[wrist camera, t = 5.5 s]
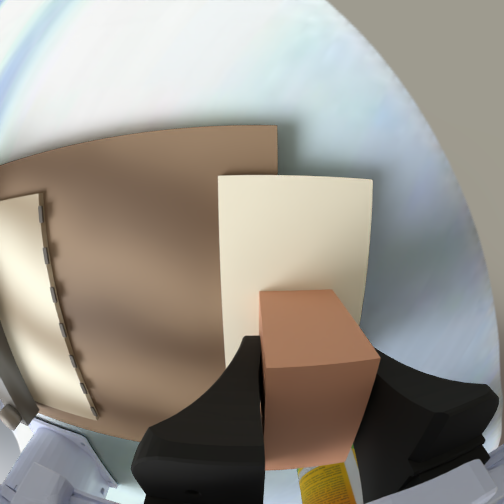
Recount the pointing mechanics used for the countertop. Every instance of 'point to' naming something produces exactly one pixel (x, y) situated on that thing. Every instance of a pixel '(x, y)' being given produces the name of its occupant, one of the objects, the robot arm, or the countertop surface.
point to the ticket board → (117, 275)
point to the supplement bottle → (332, 482)
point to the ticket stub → (300, 306)
